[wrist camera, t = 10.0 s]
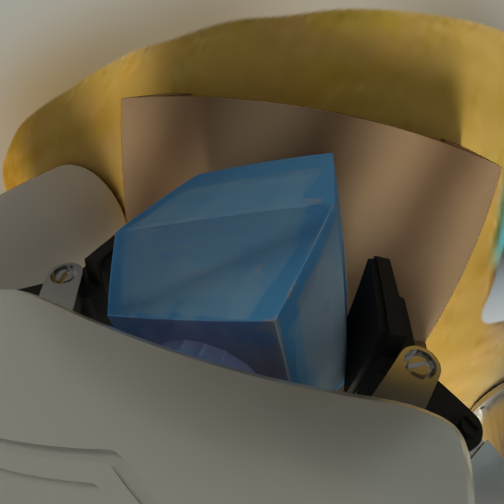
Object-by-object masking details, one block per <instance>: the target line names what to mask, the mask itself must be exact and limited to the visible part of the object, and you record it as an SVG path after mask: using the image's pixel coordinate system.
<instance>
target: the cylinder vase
mask: <svg viewBox="0 0 504 504" xmlns="http://www.w3.org/2000/svg"><path fill="white" fill-rule="evenodd" d="M126 224H127V223H126V220H125V217H124V214H123V211H122V209H121V207H120V205H119V203H118V201H117V199H116V198H115V196H114V194H113V193H112V191H111V190H110V189H109V187H108V186H107V185H106V184H105V183H104V182H103V181H102V180H101V179H100V178H99V177H98V176H97V175H95V174H94V173H93V172H91V171H89V170H88V169H86V168H83V167H81V166H77V165H70V164H69V165H61V166H58V167H56V168H54V169H51V170H49V171H47V172H45V173H43V174H40V175H38V176H36V177H34V178H32V179H30V180H28V181H26V182H24V183H22V184H20V185H18V186H16V187H14V188H12V189H10V190H8V191H7V192H5V193H3V194H1V195H0V289H13V290H18V289H22V288H26V287H30V286H35V285H39V284H43V283H44V281H45V279H46V276H47V274H48V273H49V271H50V270H51V269H53V268H54V267H56V266H57V265H60V264H63V263H68V262H71V263H77V264H79V265H80V266H81V267H82V268H84V267H85V266H86V265H85V260H84V259H85V258H86V257H87V256H89V255H90V254H91V253H92V252H94V251H95V250H96V249H97V248H98V247H100V246H101V245H102V244H103V243H105V242H106V241H107V240H108V239H110V238H111V237H112V236H114V235H115V232H116V231H118V230H119V229H120V228H122V227H123V226H124V225H126Z"/></svg>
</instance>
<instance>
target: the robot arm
mask: <svg viewBox="0 0 504 504" xmlns="http://www.w3.org/2000/svg"><path fill="white" fill-rule="evenodd" d="M114 240H115V235H114V236H112V237H111V238H110V239H108V240H107V241H106V242H105V243H103V244H102V245H101V246H100V247H98V248H97V249H96V250H95V251H94V252H92V253H91V254H90V255H89V256H87V257H86V258H85V259H84V260H85V265H86V266H85V267H84V268H82V267H81V266H80V265H79V264H77V263H71V262H68V263H63V264H60V265H57V266H56V267H54V268H53V269H51V270H50V271H49V273H48V274H47V276H46V279H45V281H44V283H43V284H39V285H35V286H30V287H26V288H22V289H18V290H13V289H0V504H504V382H503V383H501V384H500V385H498V386H497V387H495V388H494V389H492V390H491V391H490V392H488V393H487V394H486V395H484V396H483V397H482V398H481V399H480V400H479V401H478V402H477V403H476V404H475V405H474V406H473V408H472V409H471V410H470V409H469V408H468V407H466V406H465V405H464V404H463V403H462V402H461V401H460V400H459V399H458V398H457V397H456V396H455V395H453V394H452V393H451V392H450V391H449V390H448V389H447V388H446V387H445V386H444V385H442V384H441V383H440V382H439V381H438V379H439V377H440V374H441V366H440V363H439V361H438V359H437V358H436V356H435V355H434V354H433V353H432V352H430V351H429V350H427V349H425V348H423V347H420V346H415V343H414V338H413V333H412V329H411V324H410V320H409V315H408V311H407V307H406V303H405V300H404V298H403V297H399V293H398V288H397V285H396V281H395V277H394V273H393V269H392V266H391V262H390V259H388V258H383V257H379V256H374V258H373V259H370V258H369V259H368V260H367V263H366V266H365V269H364V272H363V275H362V278H361V281H360V283H359V286H358V289H357V292H356V294H355V297H354V300H353V302H352V305H351V308H350V310H349V313H348V316H347V363H346V373H345V378H344V392H341V391H336V390H330V389H325V388H320V387H315V386H310V385H305V384H300V383H295V382H290V381H286V380H281V379H277V378H273V377H268V376H264V375H260V374H256V373H252V372H248V371H245V370H241V369H237V368H233V367H230V366H226V365H222V364H219V363H215V362H212V361H209V360H205V359H202V358H199V357H195V356H192V355H189V354H186V353H183V352H180V351H177V350H174V349H171V348H168V347H165V346H162V345H159V344H156V343H153V342H150V341H148V340H145V339H142V338H139V337H137V336H134V335H131V334H129V333H126V332H123V331H121V330H118V329H116V328H114V326H113V324H112V323H111V321H110V319H109V317H108V316H107V314H108V298H109V285H110V274H111V264H112V255H113V247H114Z"/></svg>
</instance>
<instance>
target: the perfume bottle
mask: <svg viewBox="0 0 504 504" xmlns="http://www.w3.org/2000/svg"><path fill="white" fill-rule="evenodd" d="M107 316H108V317H109V319H110V321H111V323H112V324H113V326H114V328H116V329H118V330H121V331H123V332H126V333H129V334H131V335H134V336H137V337H139V338H142V339H145V340H148V341H150V342H153V343H156V344H159V345H162V346H165V347H168V348H171V349H174V350H177V351H180V352H183V353H186V354H189V355H192V356H195V357H199V358H202V359H205V360H209V361H212V362H215V363H219V364H222V365H226V366H230V367H233V368H237V369H241V370H245V371H248V372H252V373H256V374H260V375H264V376H268V377H273V378H277V379H281V380H286V381H290V382H295V383H300V384H305V385H310V386H315V387H320V388H325V389H330V390H336V391H338V390H339V389H340V388H341V387H342V386H343V384H344V378H345V373H346V363H347V316H348V305H347V273H346V260H345V248H344V237H343V227H342V217H341V209H340V200H339V193H338V185H337V178H336V171H335V164H334V158H333V153H325V154H317V155H309V156H301V157H294V158H287V159H280V160H274V161H268V162H261V163H255V164H250V165H244V166H238V167H233V168H228V169H222V170H217V171H212V172H207V173H202V174H198V175H196V176H194V177H193V178H191V179H190V180H188V181H186V182H185V183H183V184H182V185H180V186H179V187H178V188H176V189H175V190H173V191H172V192H170V193H169V194H167V195H166V196H164V197H163V198H161V199H160V200H159V201H157V202H156V203H154V204H153V205H152V206H150V207H149V208H147V209H146V210H145V211H143V212H142V213H140V214H139V215H138V216H136V217H135V218H134V219H132V220H131V221H130V222H128V223H127V224H126V225H124V226H123V227H122V228H120V229H119V230H118V231H116V232H115V240H114V247H113V255H112V264H111V274H110V285H109V298H108V314H107Z"/></svg>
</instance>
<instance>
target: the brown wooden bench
mask: <svg viewBox="0 0 504 504" xmlns="http://www.w3.org/2000/svg"><path fill="white" fill-rule="evenodd" d="M121 142H122V169H123V186H124V199H125V211H126V221H127V223H128V222H130V221H131V220H132V219H134V218H135V217H136V216H138V215H139V214H140V213H142V212H143V211H145V210H146V209H147V208H149V207H150V206H152V205H153V204H154V203H156V202H157V201H159V200H160V199H161V198H163V197H164V196H166V195H167V194H169V193H170V192H172V191H173V190H175V189H176V188H178V187H179V186H180V185H182V184H183V183H185V182H186V181H188V180H190V179H191V178H193V177H194V176H196V175H198V174H202V173H207V172H212V171H217V170H222V169H228V168H233V167H238V166H244V165H250V164H255V163H261V162H268V161H274V160H280V159H287V158H294V157H301V156H309V155H317V154H325V153H333V158H334V164H335V171H336V178H337V185H338V193H339V200H340V209H341V217H342V227H343V237H344V248H345V260H346V273H347V305H348V313H349V310H350V308H351V305H352V302H353V300H354V297H355V294H356V292H357V289H358V286H359V283H360V281H361V278H362V275H363V272H364V269H365V266H366V263H367V260H368V259H369V258H370V259H373V258H374V256H379V257H383V258H388V259H390V262H391V266H392V269H393V273H394V277H395V281H396V285H397V288H398V293H399V297H403V298H404V300H405V303H406V307H407V311H408V315H409V320H410V324H411V329H412V333H413V338H414V343H415V346H420V347H423V348H425V349H427V348H426V344H425V341H426V340H427V338H428V337H429V335H430V333H431V332H432V330H433V328H434V327H435V325H436V323H437V321H438V320H439V318H440V316H441V314H442V313H443V311H444V309H445V307H446V305H447V304H448V302H449V300H450V298H451V296H452V294H453V292H454V290H455V288H456V286H457V284H458V282H459V280H460V278H461V276H462V274H463V272H464V270H465V268H466V265H467V263H468V261H469V259H470V256H471V254H472V252H473V249H474V247H475V245H476V242H477V240H478V237H479V235H480V232H481V230H482V227H483V224H484V222H485V219H486V216H487V213H488V211H489V208H490V205H491V202H492V199H493V196H494V192H495V189H496V186H497V182H498V179H499V175H500V172H501V168H502V167H501V166H499V165H497V164H496V163H494V162H492V161H490V160H488V159H486V158H484V157H483V156H481V155H479V154H477V153H475V152H473V151H471V150H469V149H467V148H464V147H462V146H460V145H457V144H455V143H452V142H449V141H447V140H444V139H441V141H439V140H436V139H433V138H430V137H427V136H424V135H421V134H418V133H415V132H412V131H408V130H405V129H402V128H398V127H395V126H391V125H387V124H384V123H380V122H376V121H372V120H368V119H364V118H360V117H355V116H351V115H346V114H341V113H337V112H332V111H326V110H321V109H315V108H310V107H303V106H297V105H290V104H283V103H275V102H267V101H258V100H248V99H236V98H222V97H202V96H191V94H158V95H147V96H137V97H129V98H122V100H121ZM338 391H341V392H344V384H343V386H342V387H341V388H340V389H339V390H338Z"/></svg>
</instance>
